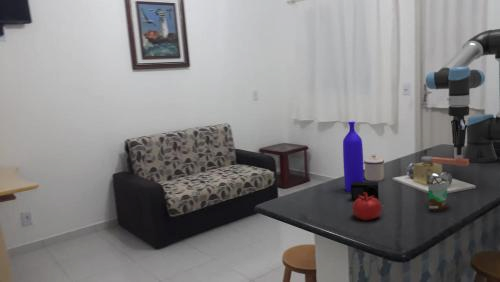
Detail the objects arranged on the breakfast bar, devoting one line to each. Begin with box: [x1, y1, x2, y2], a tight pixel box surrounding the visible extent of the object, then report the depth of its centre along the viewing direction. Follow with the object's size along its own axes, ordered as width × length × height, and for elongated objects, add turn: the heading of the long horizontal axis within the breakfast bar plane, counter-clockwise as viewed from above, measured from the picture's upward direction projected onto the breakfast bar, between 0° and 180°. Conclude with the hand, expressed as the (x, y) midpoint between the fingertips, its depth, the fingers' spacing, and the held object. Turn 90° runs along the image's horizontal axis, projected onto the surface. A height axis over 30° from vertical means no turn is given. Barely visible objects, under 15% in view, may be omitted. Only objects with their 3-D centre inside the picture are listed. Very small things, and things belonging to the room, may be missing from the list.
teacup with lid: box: [363, 154, 385, 182], centre depth 186 cm, size 12×9×12 cm
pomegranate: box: [351, 192, 383, 221], centre depth 140 cm, size 10×10×9 cm
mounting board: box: [392, 174, 477, 194], centre depth 171 cm, size 20×27×1 cm
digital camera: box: [350, 181, 380, 202], centre depth 157 cm, size 10×5×7 cm, turn 69°
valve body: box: [405, 161, 453, 186], centre depth 170 cm, size 8×20×9 cm, turn 16°
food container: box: [428, 176, 450, 211], centre depth 143 cm, size 12×6×10 cm, turn 148°
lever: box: [420, 155, 470, 167], centre depth 165 cm, size 18×5×2 cm, turn 49°
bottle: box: [342, 120, 365, 193], centre depth 170 cm, size 8×8×30 cm
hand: (458, 162), depth 164 cm, fingers closed
